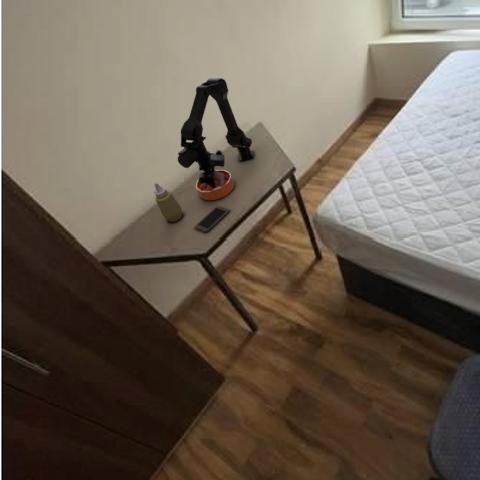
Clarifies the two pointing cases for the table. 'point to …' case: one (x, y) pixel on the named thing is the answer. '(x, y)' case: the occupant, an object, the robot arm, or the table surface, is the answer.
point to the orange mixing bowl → (218, 191)
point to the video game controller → (219, 180)
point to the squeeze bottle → (167, 204)
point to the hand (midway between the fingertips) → (214, 183)
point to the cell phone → (211, 219)
